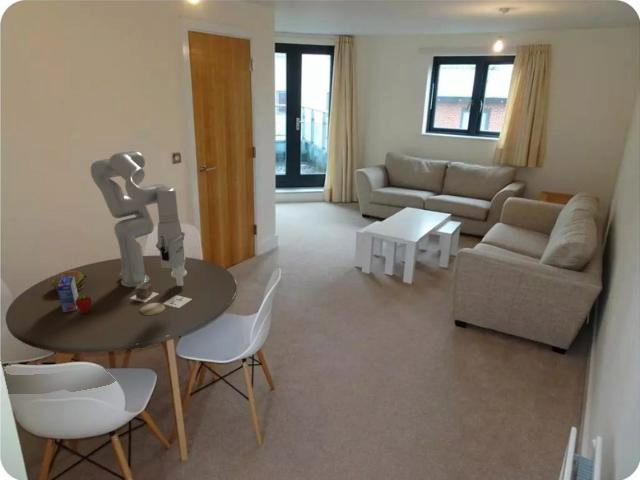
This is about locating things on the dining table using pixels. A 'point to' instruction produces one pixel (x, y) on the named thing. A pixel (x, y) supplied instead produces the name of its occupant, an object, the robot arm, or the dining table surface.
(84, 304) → the strawberry
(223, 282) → the dining table surface
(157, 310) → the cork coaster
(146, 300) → the code tile
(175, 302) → the code tile
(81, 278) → the food
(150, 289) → the walnut block
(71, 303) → the ink cartridge box
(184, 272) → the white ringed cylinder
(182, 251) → the supplement box
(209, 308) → the dining table surface
